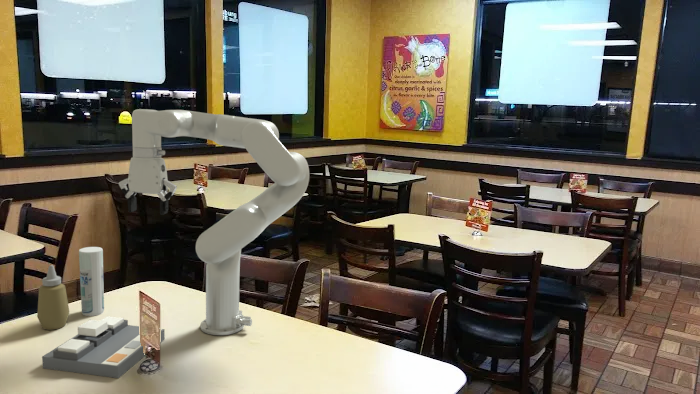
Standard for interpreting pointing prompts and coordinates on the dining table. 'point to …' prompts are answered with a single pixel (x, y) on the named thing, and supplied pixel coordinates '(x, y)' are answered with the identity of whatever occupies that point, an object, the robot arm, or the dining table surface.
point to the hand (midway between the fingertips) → (148, 212)
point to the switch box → (101, 353)
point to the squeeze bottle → (52, 302)
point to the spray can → (91, 280)
